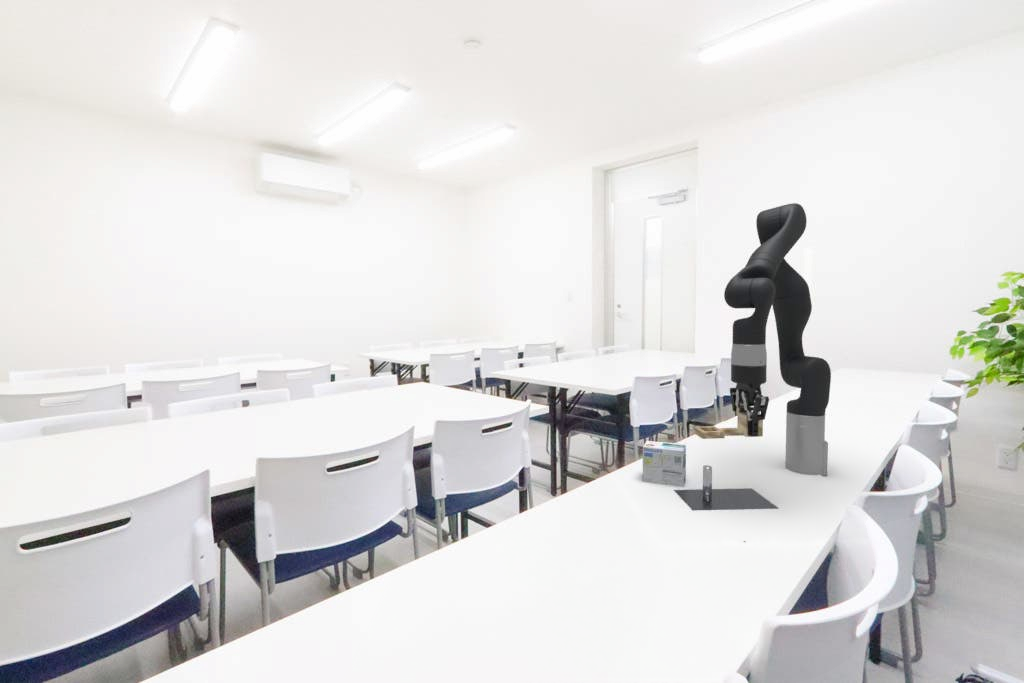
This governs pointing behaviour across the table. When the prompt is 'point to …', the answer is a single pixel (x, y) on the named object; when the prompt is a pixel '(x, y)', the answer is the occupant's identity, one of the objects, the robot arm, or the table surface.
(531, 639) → the table surface
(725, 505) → the post stand
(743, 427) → the tan wooden piece
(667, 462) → the light bulb box
